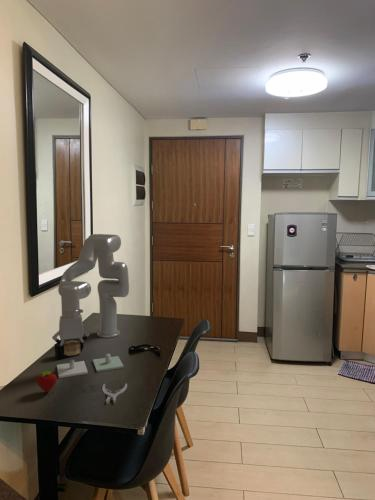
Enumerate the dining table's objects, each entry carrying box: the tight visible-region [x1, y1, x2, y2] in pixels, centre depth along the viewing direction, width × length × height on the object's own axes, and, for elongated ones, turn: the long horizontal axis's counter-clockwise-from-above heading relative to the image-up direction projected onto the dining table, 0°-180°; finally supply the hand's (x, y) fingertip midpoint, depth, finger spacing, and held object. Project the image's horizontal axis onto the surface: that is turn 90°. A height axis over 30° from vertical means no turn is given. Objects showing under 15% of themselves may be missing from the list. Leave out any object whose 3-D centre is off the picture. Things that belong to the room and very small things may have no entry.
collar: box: [63, 339, 82, 356], centre depth 165 cm, size 7×7×4 cm
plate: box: [92, 353, 125, 373], centre depth 172 cm, size 12×12×5 cm
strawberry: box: [36, 370, 58, 393], centre depth 145 cm, size 6×8×10 cm
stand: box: [56, 359, 89, 379], centre depth 166 cm, size 12×12×4 cm
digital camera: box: [54, 339, 80, 361], centre depth 181 cm, size 10×5×7 cm, turn 127°
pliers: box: [101, 382, 128, 405], centre depth 146 cm, size 10×2×15 cm
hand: (72, 351), depth 165 cm, fingers closed on collar, 7 cm apart
